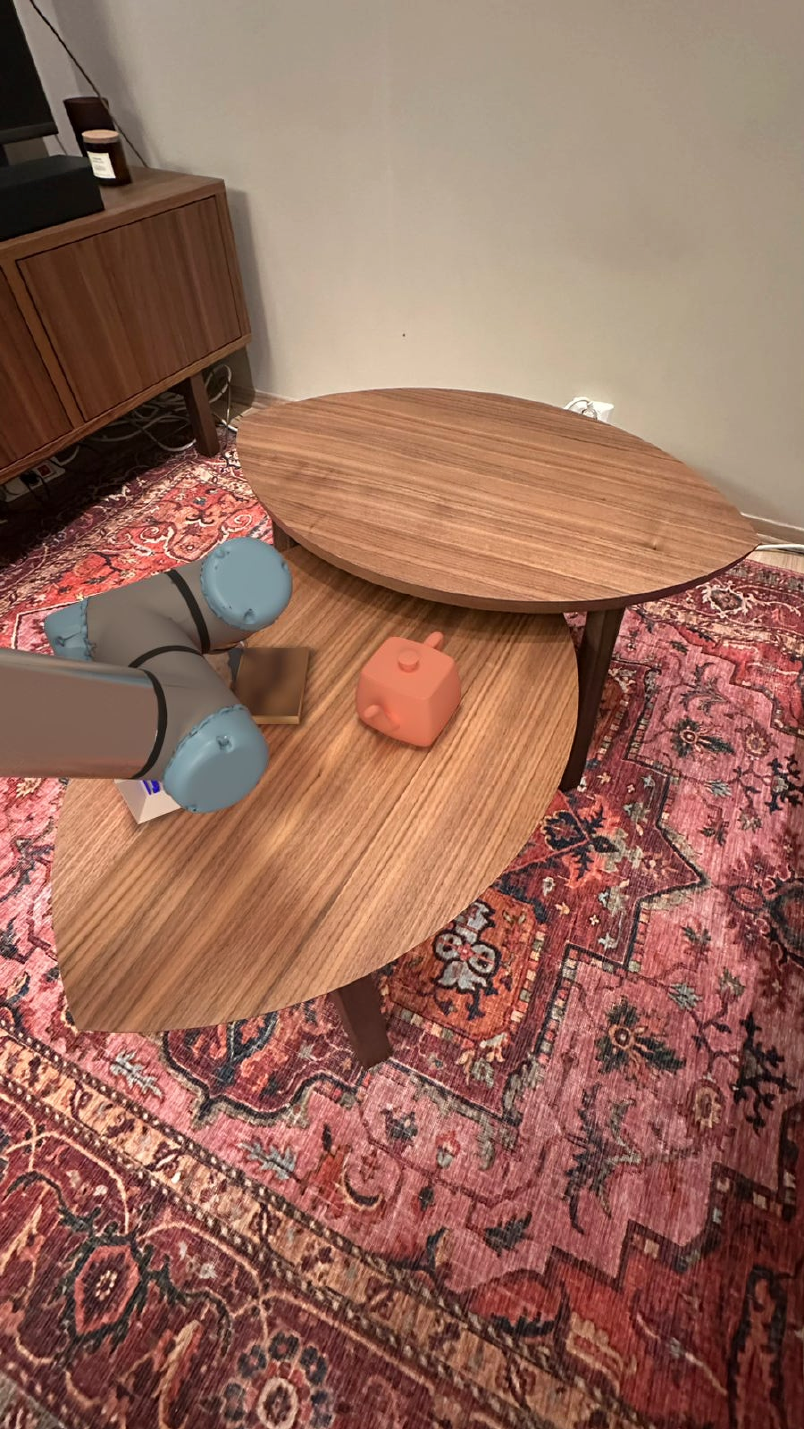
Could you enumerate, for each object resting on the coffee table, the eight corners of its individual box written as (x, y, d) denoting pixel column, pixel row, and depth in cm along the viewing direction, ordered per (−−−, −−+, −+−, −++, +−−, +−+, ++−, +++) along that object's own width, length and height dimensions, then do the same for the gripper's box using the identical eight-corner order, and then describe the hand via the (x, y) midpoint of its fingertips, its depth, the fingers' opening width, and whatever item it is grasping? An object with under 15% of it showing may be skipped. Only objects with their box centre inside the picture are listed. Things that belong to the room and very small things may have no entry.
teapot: (476, 689, 91) (482, 630, 83) (410, 787, 80) (409, 730, 72) (401, 660, 94) (400, 601, 87) (329, 750, 84) (320, 692, 76)
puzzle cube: (188, 750, 84) (171, 708, 78) (206, 797, 80) (189, 756, 74) (123, 774, 82) (100, 732, 76) (137, 824, 77) (114, 784, 72)
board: (159, 723, 87) (156, 716, 86) (182, 653, 96) (179, 645, 95) (299, 724, 87) (298, 717, 86) (310, 653, 96) (309, 646, 94)
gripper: (120, 704, 65) (108, 716, 84) (334, 596, 75) (280, 629, 94) (78, 633, 63) (76, 661, 82) (302, 533, 73) (253, 579, 93)
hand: (184, 644), depth 88 cm, fingers open, 13 cm apart
